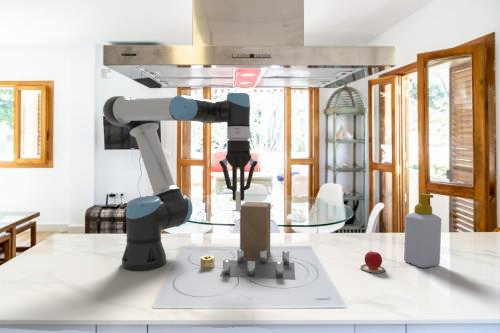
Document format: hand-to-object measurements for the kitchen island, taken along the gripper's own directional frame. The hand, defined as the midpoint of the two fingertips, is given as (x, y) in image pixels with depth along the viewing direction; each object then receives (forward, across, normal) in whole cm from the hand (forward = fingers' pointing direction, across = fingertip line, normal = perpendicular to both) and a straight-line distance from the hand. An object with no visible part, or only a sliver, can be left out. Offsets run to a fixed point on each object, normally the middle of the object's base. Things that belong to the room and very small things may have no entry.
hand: (238, 210), depth 119 cm
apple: (+21, +46, +5) cm, 50 cm away
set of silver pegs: (+20, +7, 0) cm, 22 cm away
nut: (+21, -11, +1) cm, 23 cm away
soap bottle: (+21, +64, +13) cm, 69 cm away
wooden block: (+21, +4, +15) cm, 26 cm away
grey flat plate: (+20, +7, 0) cm, 22 cm away
